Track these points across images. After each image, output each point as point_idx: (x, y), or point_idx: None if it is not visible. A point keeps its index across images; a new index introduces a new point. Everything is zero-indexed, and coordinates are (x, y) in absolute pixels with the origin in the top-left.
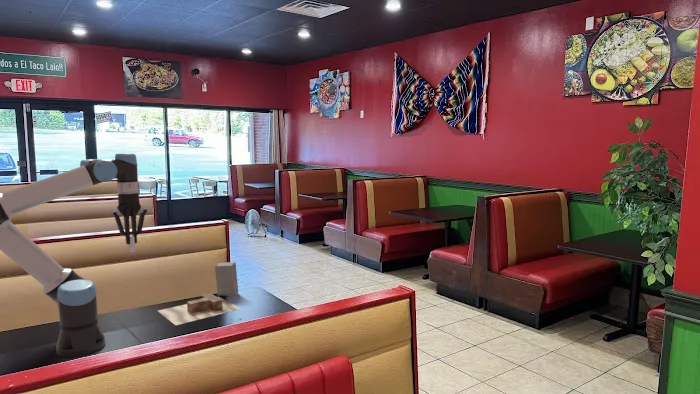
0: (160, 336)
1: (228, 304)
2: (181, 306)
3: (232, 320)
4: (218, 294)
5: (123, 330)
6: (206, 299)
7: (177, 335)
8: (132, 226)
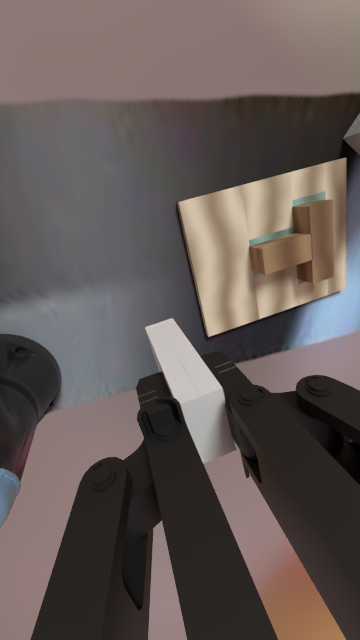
0: None
1: (338, 243)
2: (242, 197)
3: (309, 332)
4: (352, 138)
5: (92, 302)
6: (307, 253)
7: None
8: (302, 538)
